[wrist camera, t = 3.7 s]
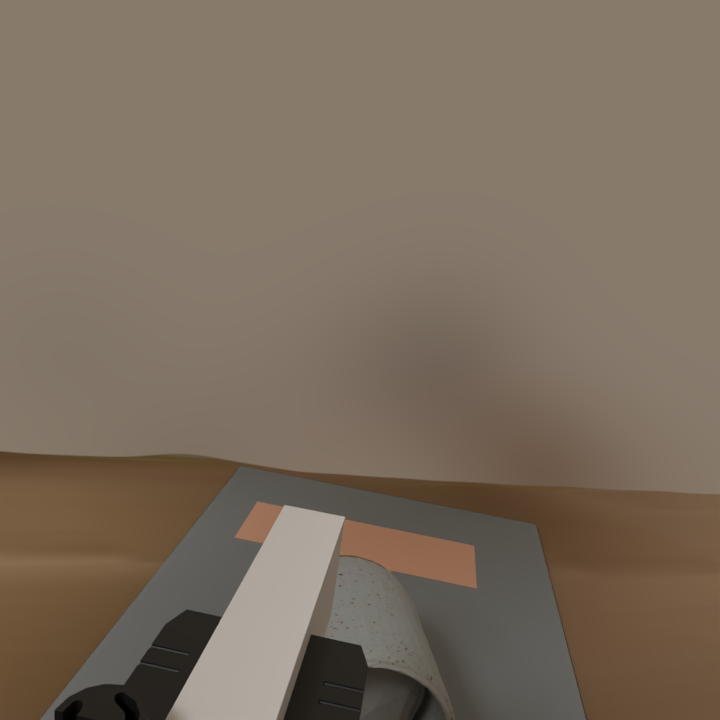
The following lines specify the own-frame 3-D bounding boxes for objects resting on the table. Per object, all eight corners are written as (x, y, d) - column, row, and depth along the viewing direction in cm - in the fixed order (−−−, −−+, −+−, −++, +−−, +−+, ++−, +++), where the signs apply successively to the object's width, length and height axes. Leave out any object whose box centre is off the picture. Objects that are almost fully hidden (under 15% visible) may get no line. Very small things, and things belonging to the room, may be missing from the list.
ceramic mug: (400, 669, 31) (422, 537, 29) (440, 833, 24) (475, 669, 21) (186, 668, 30) (193, 529, 28) (153, 844, 22) (160, 669, 20)
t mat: (-39, 823, 22) (-39, 818, 22) (240, 467, 51) (240, 465, 50) (658, 1013, 19) (660, 1009, 19) (535, 526, 48) (536, 524, 48)
